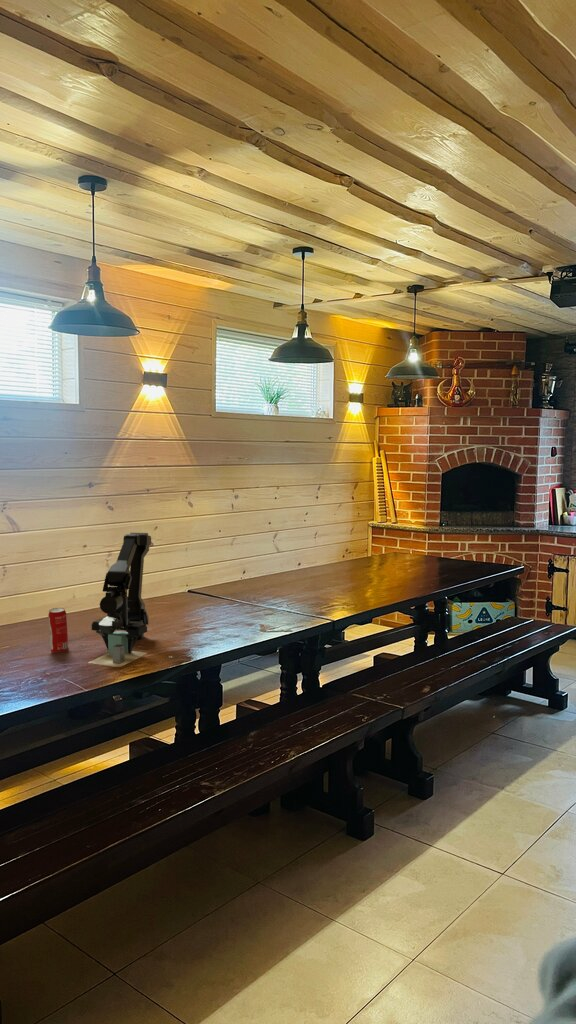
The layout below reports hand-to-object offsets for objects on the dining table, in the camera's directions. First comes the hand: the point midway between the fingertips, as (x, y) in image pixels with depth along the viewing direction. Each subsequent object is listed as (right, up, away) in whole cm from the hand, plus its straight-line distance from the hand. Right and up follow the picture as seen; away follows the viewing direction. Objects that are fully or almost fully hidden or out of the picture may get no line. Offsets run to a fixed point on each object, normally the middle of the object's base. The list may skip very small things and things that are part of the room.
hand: (119, 651), depth 240 cm
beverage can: (-21, -1, +3) cm, 22 cm away
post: (+2, -1, -11) cm, 11 cm away
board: (+1, -2, -6) cm, 6 cm away
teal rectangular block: (0, 0, 0) cm, 0 cm away
